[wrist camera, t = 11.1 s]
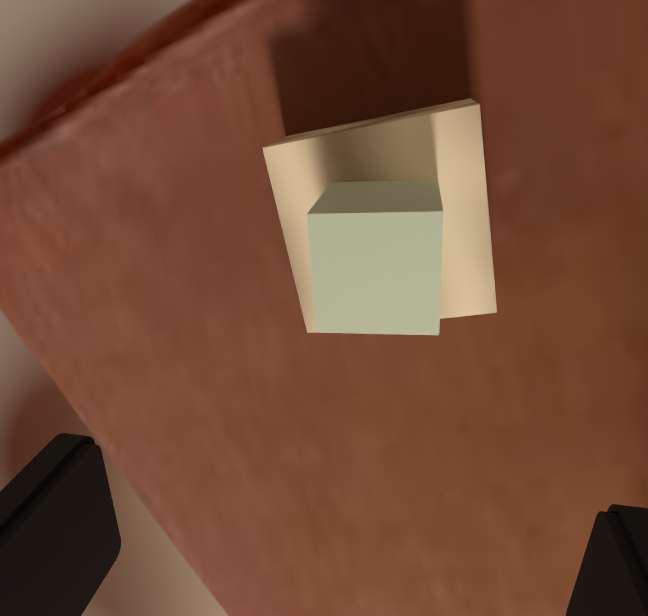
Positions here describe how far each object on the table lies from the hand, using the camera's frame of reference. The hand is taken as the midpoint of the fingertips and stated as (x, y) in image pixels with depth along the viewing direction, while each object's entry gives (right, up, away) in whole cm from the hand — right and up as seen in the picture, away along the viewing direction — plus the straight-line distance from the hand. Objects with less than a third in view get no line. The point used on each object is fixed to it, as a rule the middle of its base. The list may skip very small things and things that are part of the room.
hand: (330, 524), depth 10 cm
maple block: (+4, +10, +20) cm, 23 cm away
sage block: (+3, +8, +16) cm, 18 cm away
